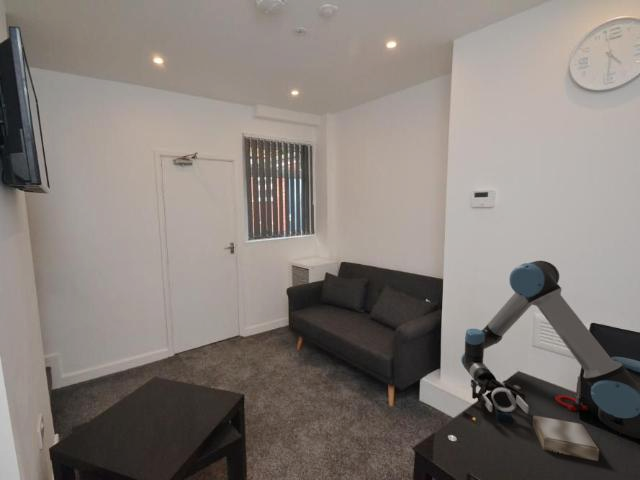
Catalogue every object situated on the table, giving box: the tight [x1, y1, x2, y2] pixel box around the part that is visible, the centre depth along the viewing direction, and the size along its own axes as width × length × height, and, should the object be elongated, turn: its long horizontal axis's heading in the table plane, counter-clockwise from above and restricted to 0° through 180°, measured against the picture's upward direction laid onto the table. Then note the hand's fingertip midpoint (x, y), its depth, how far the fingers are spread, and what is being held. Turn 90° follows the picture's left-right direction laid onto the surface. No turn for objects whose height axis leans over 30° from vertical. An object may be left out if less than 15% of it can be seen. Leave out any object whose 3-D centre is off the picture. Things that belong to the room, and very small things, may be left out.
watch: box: [491, 387, 518, 425], centre depth 116 cm, size 6×8×11 cm
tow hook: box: [554, 376, 589, 412], centre depth 124 cm, size 8×13×9 cm
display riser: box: [532, 415, 600, 462], centre depth 104 cm, size 14×12×4 cm
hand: (509, 409), depth 112 cm, fingers open, 11 cm apart
